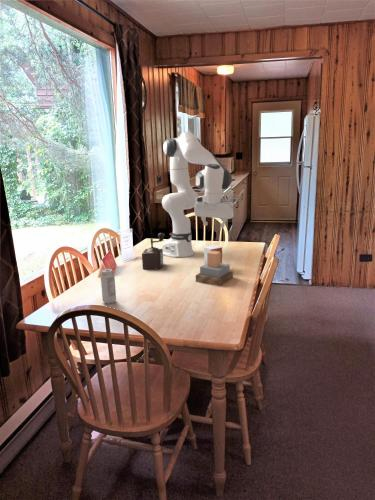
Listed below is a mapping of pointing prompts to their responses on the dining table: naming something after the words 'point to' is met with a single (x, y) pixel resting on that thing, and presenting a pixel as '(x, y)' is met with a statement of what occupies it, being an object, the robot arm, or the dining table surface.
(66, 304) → the dining table surface
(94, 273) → the dining table surface
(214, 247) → the small box
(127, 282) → the dining table surface
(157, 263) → the pepper mill
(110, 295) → the energy drink can
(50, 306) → the dining table surface
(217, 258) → the pillar block
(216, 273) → the grey square slab
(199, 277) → the tower base
